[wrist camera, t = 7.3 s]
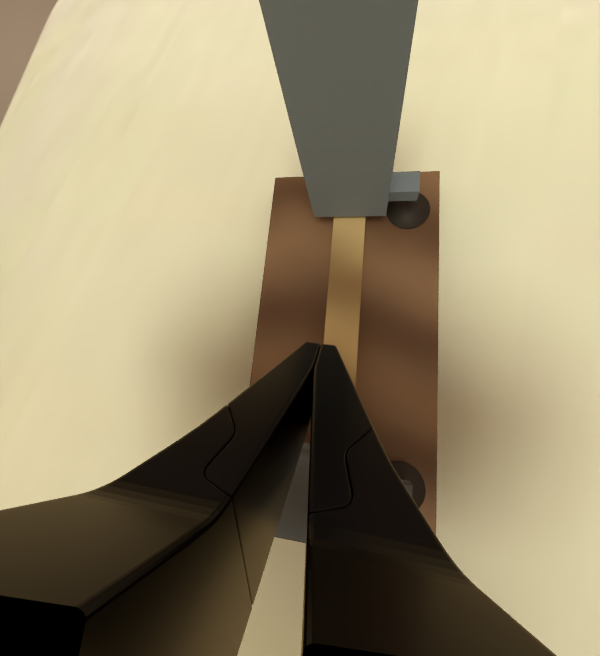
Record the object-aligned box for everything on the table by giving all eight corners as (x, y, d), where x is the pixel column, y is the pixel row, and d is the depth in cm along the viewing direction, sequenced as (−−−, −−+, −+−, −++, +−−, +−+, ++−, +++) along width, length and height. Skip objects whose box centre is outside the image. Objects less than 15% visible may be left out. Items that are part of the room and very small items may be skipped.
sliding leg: (415, 221, 17) (515, -88, 6) (315, 222, 19) (249, -38, 7) (416, 174, 18) (511, -187, 7) (319, 177, 19) (264, -127, 8)
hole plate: (430, 527, 16) (463, 590, 11) (243, 495, 18) (198, 535, 13) (434, 184, 19) (460, 111, 14) (279, 189, 21) (255, 127, 16)
